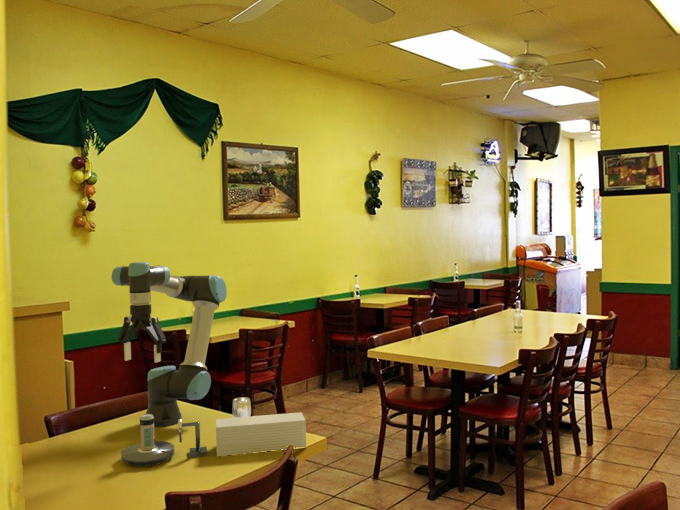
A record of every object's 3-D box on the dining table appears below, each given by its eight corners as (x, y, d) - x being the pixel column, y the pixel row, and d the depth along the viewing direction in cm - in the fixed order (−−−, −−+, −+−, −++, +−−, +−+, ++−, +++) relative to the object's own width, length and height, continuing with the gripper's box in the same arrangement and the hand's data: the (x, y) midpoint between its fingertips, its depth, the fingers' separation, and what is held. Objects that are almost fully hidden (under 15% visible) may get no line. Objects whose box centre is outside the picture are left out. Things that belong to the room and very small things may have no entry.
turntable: (109, 460, 218) (109, 454, 218) (144, 444, 235) (144, 438, 234) (152, 466, 211) (152, 460, 211) (184, 449, 228) (184, 443, 228)
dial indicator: (179, 453, 228) (178, 417, 228) (206, 450, 231) (205, 414, 230) (179, 458, 222) (178, 421, 222) (207, 455, 225) (206, 419, 224)
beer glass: (250, 440, 241) (249, 401, 240) (232, 440, 241) (230, 401, 240) (253, 434, 248) (252, 396, 247) (235, 435, 248) (234, 397, 247)
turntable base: (118, 463, 219) (118, 460, 219) (145, 450, 232) (145, 447, 232) (151, 468, 214) (151, 464, 214) (177, 454, 227) (176, 451, 227)
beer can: (149, 446, 226) (148, 412, 226) (157, 448, 223) (156, 414, 223) (138, 449, 222) (136, 415, 222) (145, 452, 219) (144, 418, 219)
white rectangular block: (302, 440, 240) (301, 412, 240) (306, 449, 230) (305, 420, 230) (216, 447, 234) (215, 419, 234) (216, 457, 224) (215, 427, 223)
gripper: (106, 304, 235) (108, 361, 236) (161, 305, 226) (163, 364, 226) (120, 302, 242) (122, 357, 243) (174, 303, 232) (176, 360, 233)
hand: (142, 361), depth 234 cm, fingers open, 13 cm apart
